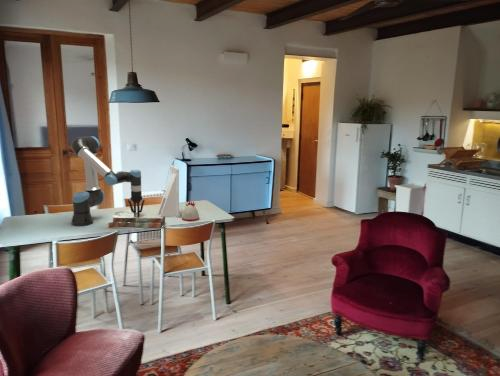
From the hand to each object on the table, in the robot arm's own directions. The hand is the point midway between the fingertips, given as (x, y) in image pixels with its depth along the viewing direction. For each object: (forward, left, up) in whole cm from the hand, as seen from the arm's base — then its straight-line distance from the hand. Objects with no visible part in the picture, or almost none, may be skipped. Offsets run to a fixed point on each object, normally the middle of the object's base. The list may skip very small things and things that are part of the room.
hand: (137, 221), depth 307 cm
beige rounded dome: (+39, +18, -3) cm, 43 cm away
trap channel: (0, 0, -3) cm, 3 cm away
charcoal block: (+4, +1, -3) cm, 5 cm away
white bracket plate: (+19, +29, -3) cm, 35 cm away
